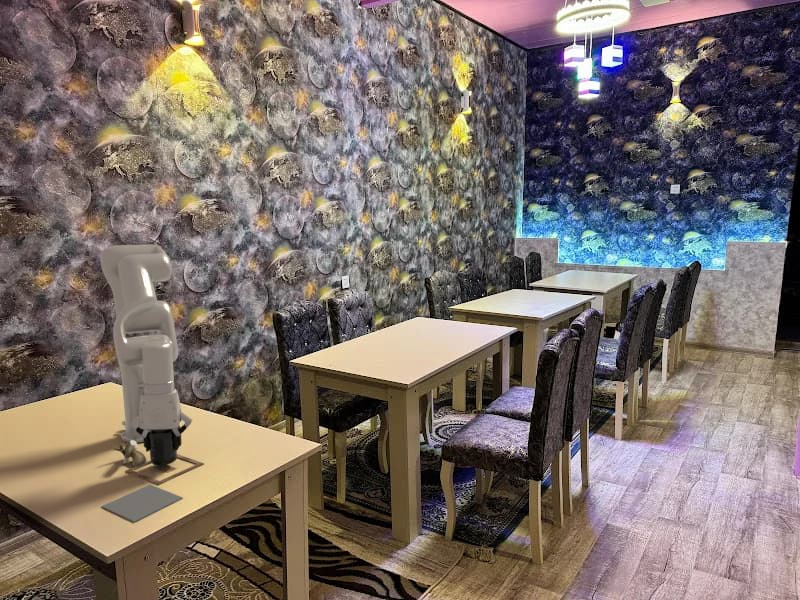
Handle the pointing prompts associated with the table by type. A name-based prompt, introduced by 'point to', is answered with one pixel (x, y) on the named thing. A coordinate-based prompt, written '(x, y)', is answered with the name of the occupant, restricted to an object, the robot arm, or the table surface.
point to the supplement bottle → (162, 447)
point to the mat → (142, 503)
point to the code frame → (166, 469)
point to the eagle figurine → (132, 453)
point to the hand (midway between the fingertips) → (163, 448)
